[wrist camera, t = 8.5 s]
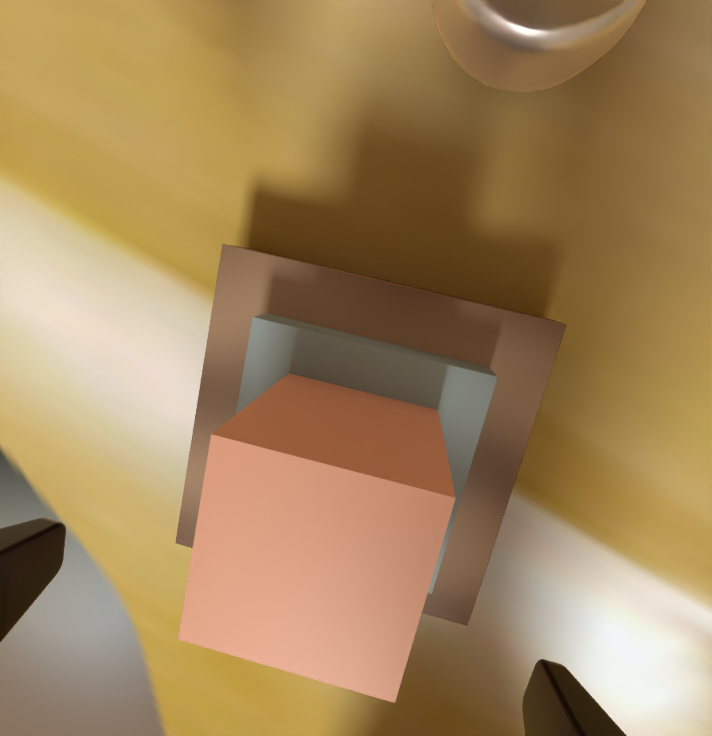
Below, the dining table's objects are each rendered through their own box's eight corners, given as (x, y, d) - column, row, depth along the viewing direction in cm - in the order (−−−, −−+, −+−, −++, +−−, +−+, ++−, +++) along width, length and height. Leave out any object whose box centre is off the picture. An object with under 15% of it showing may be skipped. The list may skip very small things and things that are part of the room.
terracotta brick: (400, 545, 16) (394, 703, 10) (261, 508, 16) (178, 638, 10) (437, 410, 15) (455, 498, 9) (288, 373, 15) (210, 434, 9)
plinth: (460, 583, 20) (472, 656, 16) (202, 512, 21) (155, 565, 17) (545, 317, 18) (583, 329, 14) (247, 248, 18) (203, 240, 15)
